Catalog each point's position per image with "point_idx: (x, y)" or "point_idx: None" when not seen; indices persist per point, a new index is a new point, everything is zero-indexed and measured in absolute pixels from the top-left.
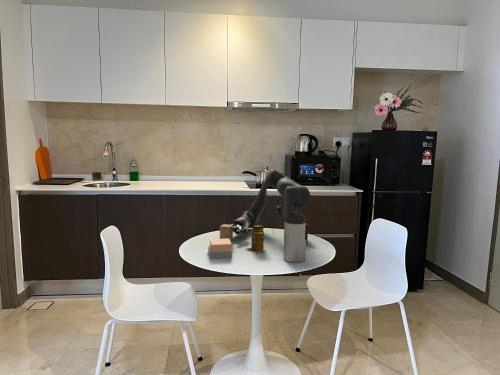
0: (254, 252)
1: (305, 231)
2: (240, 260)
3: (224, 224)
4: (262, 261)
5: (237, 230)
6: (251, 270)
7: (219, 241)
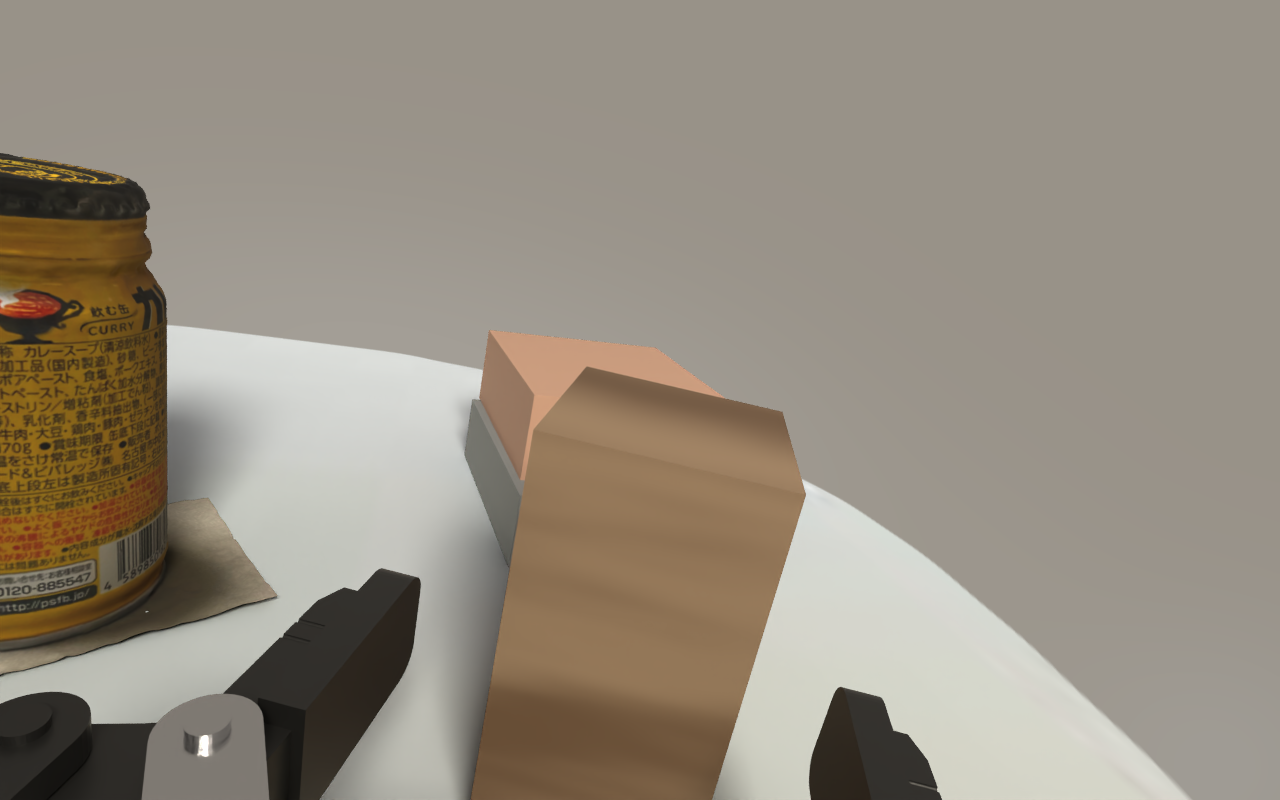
0: (169, 509)
1: None
2: (394, 420)
3: (774, 478)
4: (197, 391)
5: (379, 587)
6: (344, 347)
7: (617, 369)
